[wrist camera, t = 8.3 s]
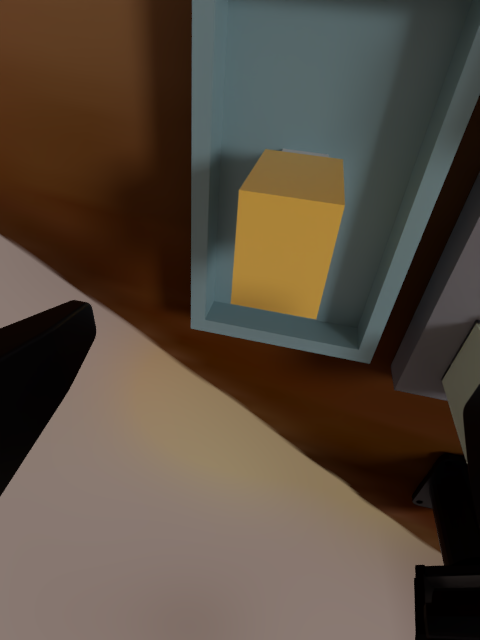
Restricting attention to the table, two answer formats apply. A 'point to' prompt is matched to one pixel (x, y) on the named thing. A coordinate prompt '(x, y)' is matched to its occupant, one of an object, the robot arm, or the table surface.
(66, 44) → the table surface
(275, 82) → the parts tray
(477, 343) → the block
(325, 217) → the block
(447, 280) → the block
